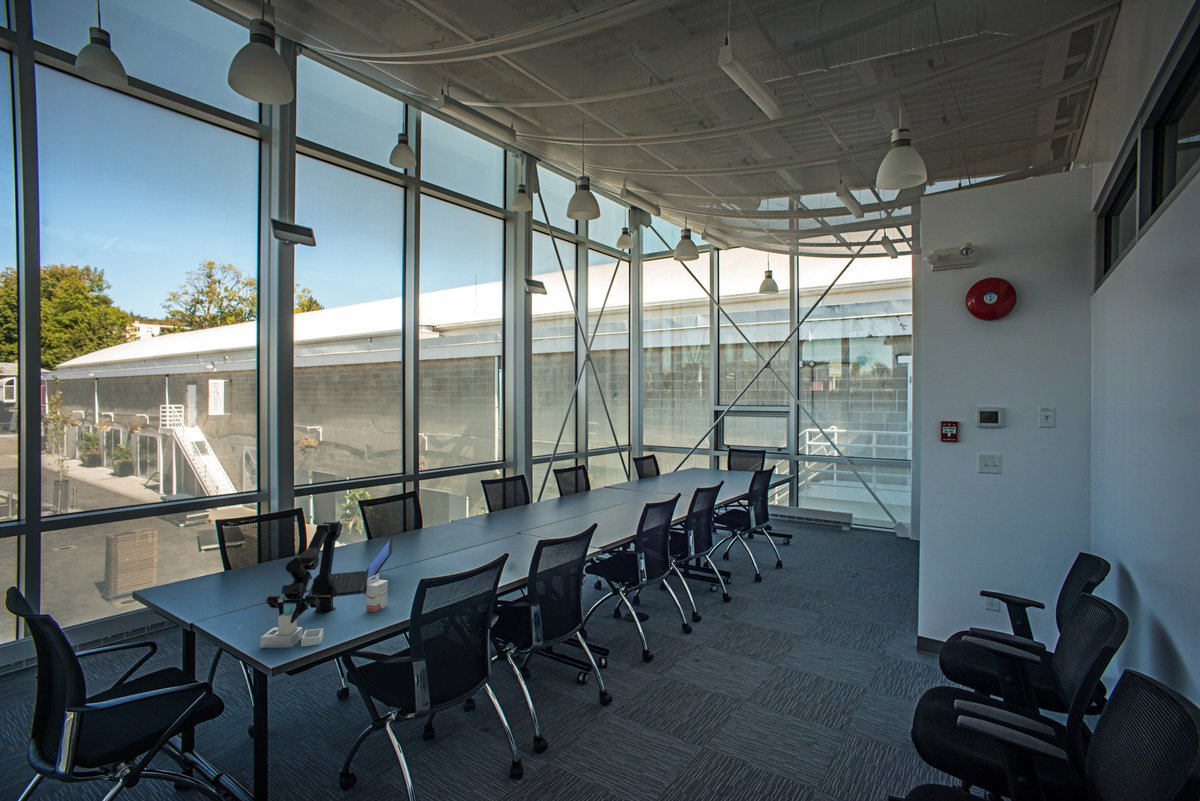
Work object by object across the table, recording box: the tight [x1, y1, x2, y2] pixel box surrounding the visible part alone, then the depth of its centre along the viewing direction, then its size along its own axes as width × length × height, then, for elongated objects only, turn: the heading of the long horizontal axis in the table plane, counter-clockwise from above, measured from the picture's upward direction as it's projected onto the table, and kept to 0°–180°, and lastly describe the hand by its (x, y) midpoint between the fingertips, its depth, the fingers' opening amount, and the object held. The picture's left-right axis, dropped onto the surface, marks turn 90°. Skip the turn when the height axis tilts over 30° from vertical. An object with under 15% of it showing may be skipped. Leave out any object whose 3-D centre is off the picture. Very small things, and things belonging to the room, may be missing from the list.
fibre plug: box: [277, 603, 298, 636], centre depth 220 cm, size 4×6×14 cm, turn 3°
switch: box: [260, 626, 304, 649], centre depth 220 cm, size 11×9×4 cm
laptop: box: [307, 536, 393, 596], centre depth 289 cm, size 33×38×19 cm
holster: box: [300, 627, 324, 647], centre depth 221 cm, size 6×8×3 cm
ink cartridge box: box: [365, 572, 389, 613], centre depth 256 cm, size 9×5×15 cm, turn 163°
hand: (285, 622), depth 219 cm, fingers closed on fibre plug, 4 cm apart
